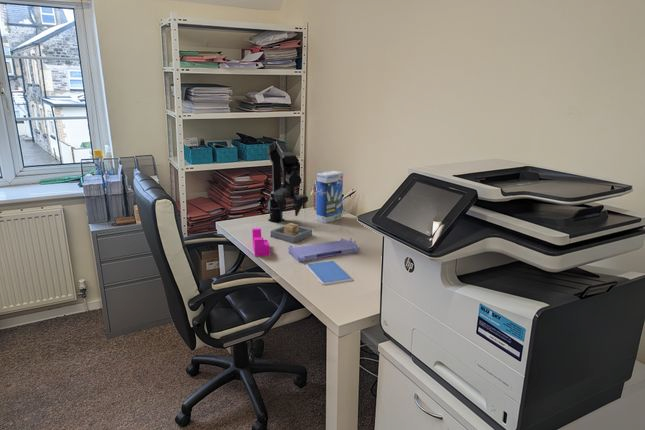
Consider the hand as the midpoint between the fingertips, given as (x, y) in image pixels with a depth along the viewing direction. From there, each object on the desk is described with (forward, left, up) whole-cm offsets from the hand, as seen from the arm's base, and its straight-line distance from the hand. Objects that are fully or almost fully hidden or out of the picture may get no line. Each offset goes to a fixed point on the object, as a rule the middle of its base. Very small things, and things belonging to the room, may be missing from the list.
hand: (288, 213), depth 205 cm
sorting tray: (0, +2, -11) cm, 11 cm away
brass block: (0, +2, -10) cm, 10 cm away
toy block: (+22, +3, -11) cm, 25 cm away
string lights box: (-34, 0, -11) cm, 36 cm away
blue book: (+23, +40, -12) cm, 47 cm away
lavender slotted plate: (+7, +27, -11) cm, 30 cm away
